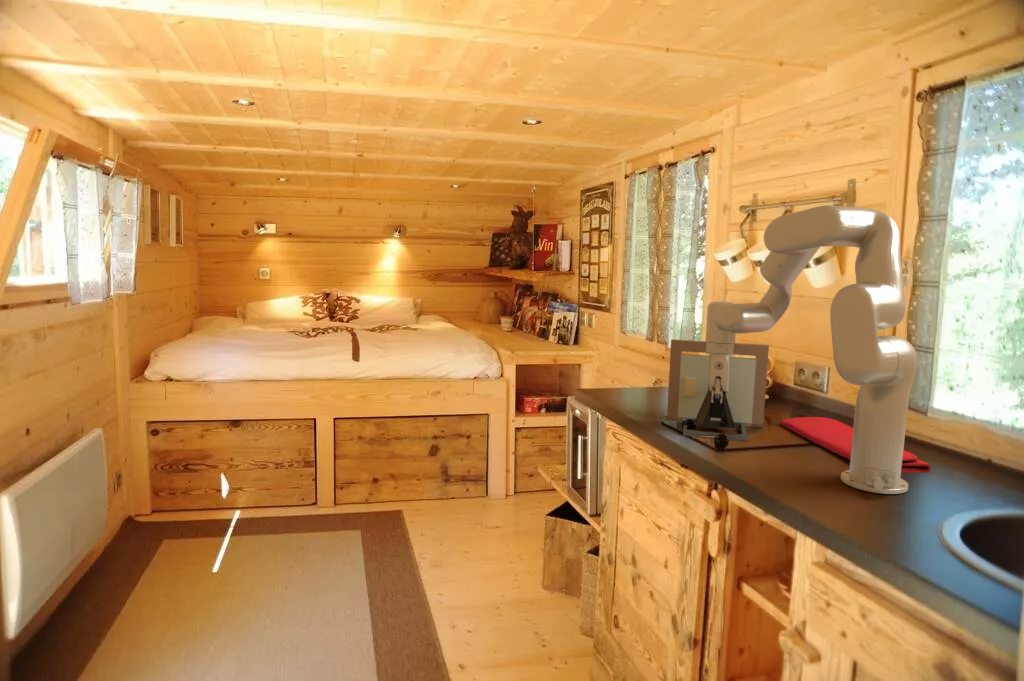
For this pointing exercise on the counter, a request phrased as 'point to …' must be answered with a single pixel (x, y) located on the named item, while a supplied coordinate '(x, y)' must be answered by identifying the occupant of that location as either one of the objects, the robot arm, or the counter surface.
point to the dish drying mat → (841, 439)
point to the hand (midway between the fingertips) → (715, 414)
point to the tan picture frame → (693, 382)
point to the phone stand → (704, 412)
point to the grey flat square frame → (707, 433)
